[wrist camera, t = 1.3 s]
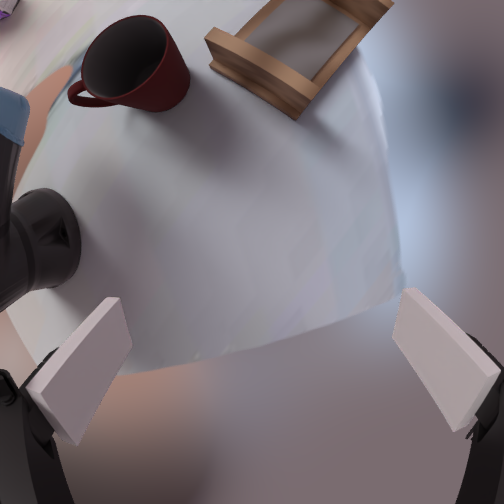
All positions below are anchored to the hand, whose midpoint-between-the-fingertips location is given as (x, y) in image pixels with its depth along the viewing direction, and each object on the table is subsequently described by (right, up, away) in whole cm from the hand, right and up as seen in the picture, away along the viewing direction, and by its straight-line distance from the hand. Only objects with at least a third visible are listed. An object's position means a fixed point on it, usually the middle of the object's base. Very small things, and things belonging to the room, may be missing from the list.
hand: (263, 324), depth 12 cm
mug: (-13, +23, +16) cm, 31 cm away
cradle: (+5, +29, +13) cm, 32 cm away
